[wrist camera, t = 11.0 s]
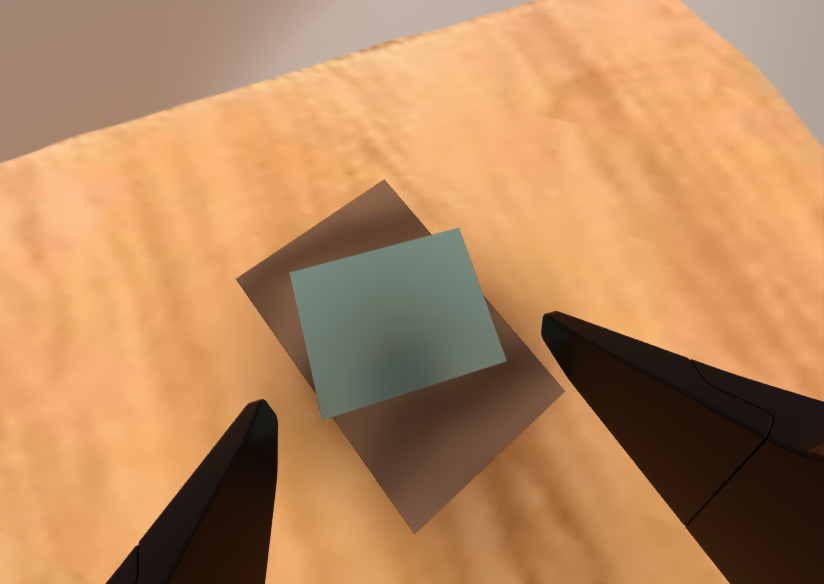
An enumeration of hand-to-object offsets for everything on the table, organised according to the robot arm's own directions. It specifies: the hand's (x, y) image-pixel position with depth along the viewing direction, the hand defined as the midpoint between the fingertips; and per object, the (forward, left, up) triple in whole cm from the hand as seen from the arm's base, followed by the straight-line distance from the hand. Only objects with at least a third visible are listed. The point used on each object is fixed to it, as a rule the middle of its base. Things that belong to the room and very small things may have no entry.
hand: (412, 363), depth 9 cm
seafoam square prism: (+2, -1, -11) cm, 11 cm away
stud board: (+2, -1, -12) cm, 12 cm away
